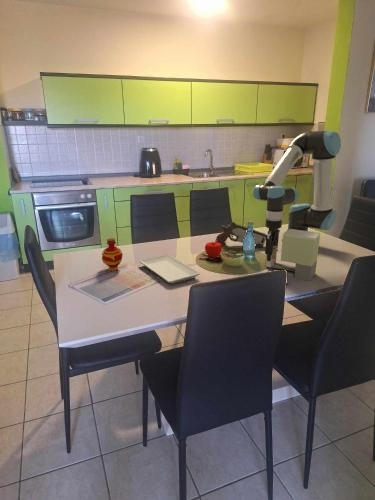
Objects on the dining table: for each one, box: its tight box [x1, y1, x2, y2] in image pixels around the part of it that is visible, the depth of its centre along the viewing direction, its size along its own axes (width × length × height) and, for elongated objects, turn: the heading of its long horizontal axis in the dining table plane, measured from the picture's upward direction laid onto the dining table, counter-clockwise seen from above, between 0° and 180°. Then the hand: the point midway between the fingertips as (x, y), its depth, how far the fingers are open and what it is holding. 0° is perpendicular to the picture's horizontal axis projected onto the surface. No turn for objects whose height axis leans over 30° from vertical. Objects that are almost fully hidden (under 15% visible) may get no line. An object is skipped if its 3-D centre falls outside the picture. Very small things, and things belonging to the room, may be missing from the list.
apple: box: [204, 241, 223, 259], centre depth 183 cm, size 9×9×8 cm
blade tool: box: [264, 245, 296, 272], centre depth 166 cm, size 4×15×10 cm, turn 58°
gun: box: [214, 221, 267, 249], centre depth 201 cm, size 5×27×15 cm, turn 79°
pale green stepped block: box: [280, 229, 321, 282], centre depth 158 cm, size 10×15×20 cm
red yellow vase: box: [101, 237, 124, 272], centre depth 167 cm, size 10×10×15 cm
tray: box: [139, 254, 201, 284], centre depth 164 cm, size 17×31×4 cm, turn 32°
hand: (270, 265), depth 170 cm, fingers closed on blade tool, 4 cm apart
